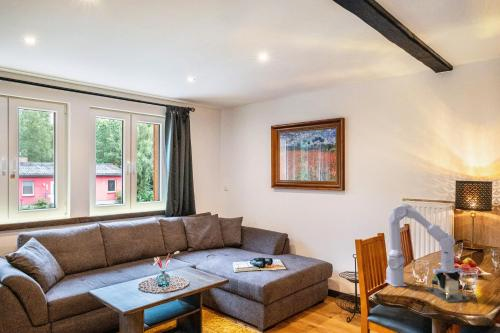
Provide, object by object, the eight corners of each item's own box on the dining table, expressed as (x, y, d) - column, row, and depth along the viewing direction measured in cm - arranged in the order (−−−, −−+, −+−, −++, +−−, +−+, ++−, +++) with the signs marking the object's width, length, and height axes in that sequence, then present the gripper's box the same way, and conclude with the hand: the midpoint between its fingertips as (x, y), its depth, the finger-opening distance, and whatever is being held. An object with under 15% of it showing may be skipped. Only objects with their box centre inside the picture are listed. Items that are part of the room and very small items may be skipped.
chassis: (426, 290, 177) (426, 283, 177) (447, 289, 179) (447, 282, 179) (447, 302, 161) (447, 295, 161) (470, 301, 163) (470, 293, 163)
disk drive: (465, 285, 186) (435, 280, 195) (465, 280, 186) (435, 275, 195) (463, 291, 178) (431, 284, 187) (463, 285, 178) (431, 279, 187)
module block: (437, 288, 173) (437, 276, 173) (446, 288, 174) (446, 276, 174) (449, 294, 165) (449, 282, 165) (458, 293, 166) (458, 281, 166)
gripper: (439, 263, 165) (439, 291, 165) (466, 261, 167) (466, 289, 167) (430, 259, 172) (430, 286, 172) (456, 258, 174) (456, 284, 174)
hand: (447, 287), depth 170 cm, fingers closed on module block, 5 cm apart
